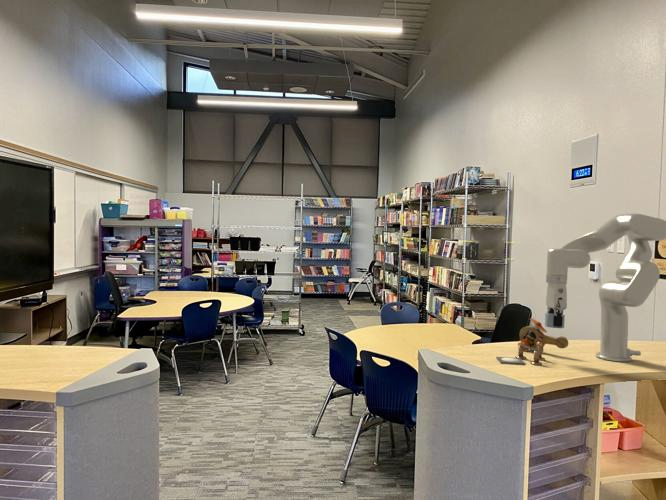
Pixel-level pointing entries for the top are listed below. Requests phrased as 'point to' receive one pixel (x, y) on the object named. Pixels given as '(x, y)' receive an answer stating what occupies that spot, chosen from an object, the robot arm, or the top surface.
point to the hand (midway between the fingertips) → (554, 324)
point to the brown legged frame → (536, 352)
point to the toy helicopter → (539, 337)
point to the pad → (510, 360)
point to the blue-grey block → (550, 320)
